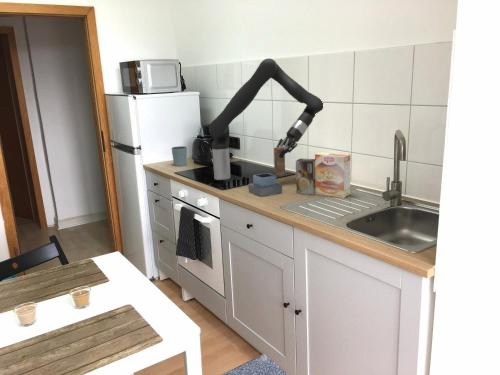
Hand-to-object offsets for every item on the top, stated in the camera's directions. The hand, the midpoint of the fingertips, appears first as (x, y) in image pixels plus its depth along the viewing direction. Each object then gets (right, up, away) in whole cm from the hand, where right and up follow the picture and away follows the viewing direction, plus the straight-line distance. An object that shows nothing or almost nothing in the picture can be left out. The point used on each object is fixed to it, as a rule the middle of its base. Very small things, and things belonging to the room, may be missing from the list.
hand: (277, 156), depth 219 cm
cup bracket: (-7, -18, -9) cm, 21 cm away
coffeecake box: (+24, -19, -18) cm, 36 cm away
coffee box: (+13, -18, -13) cm, 26 cm away
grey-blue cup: (-61, -1, +67) cm, 90 cm away
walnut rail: (+1, -9, +3) cm, 10 cm away
